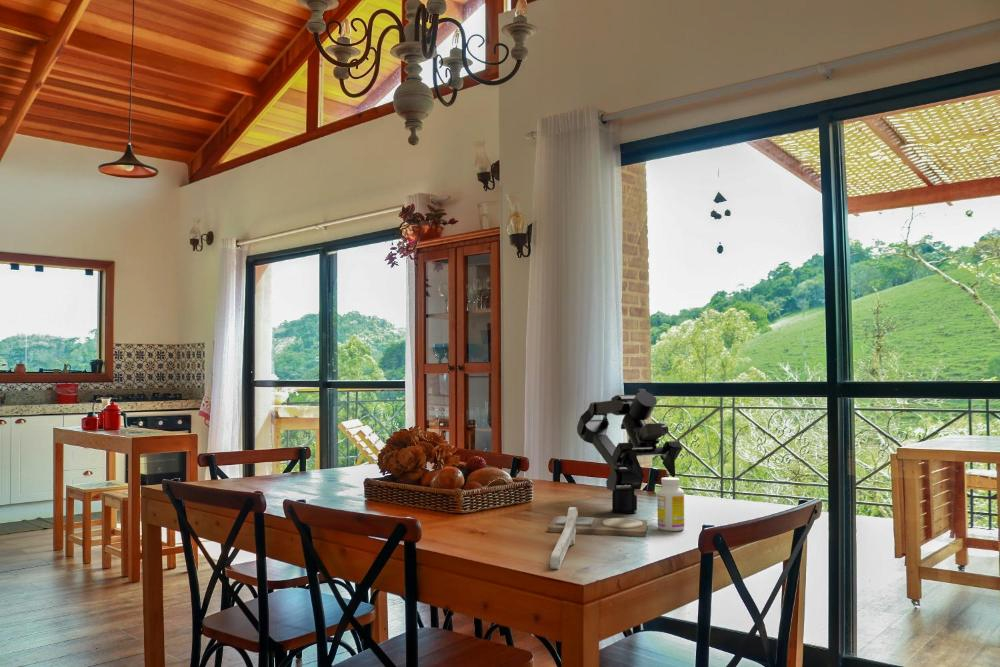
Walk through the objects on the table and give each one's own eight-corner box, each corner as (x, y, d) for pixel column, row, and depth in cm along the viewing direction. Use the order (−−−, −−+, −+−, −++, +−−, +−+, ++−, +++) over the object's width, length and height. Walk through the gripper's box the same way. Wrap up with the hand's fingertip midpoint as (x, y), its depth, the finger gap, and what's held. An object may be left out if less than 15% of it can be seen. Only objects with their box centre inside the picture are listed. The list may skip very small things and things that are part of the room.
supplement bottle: (686, 528, 213) (686, 477, 213) (681, 532, 207) (681, 480, 207) (661, 525, 216) (661, 475, 216) (654, 530, 210) (654, 479, 210)
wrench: (550, 583, 170) (570, 536, 200) (558, 584, 170) (578, 537, 199) (549, 545, 170) (570, 503, 199) (558, 545, 169) (578, 504, 198)
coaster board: (547, 532, 207) (548, 524, 207) (555, 520, 222) (555, 513, 222) (645, 536, 202) (645, 529, 202) (647, 524, 217) (647, 517, 217)
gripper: (617, 412, 220) (637, 459, 209) (678, 411, 226) (701, 456, 215) (603, 439, 227) (622, 486, 216) (663, 437, 233) (685, 482, 222)
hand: (658, 477), depth 217 cm, fingers open, 9 cm apart
